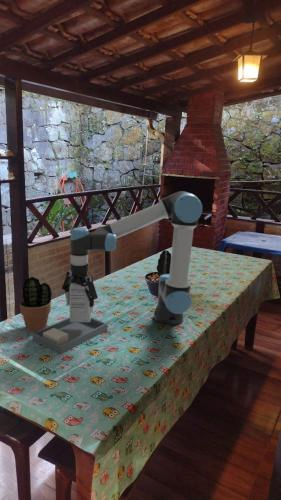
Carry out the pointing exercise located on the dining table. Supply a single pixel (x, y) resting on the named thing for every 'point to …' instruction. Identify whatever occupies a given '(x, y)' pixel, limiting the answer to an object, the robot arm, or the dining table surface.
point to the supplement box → (78, 303)
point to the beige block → (56, 336)
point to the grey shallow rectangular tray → (71, 333)
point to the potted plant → (35, 304)
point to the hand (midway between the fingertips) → (79, 309)
